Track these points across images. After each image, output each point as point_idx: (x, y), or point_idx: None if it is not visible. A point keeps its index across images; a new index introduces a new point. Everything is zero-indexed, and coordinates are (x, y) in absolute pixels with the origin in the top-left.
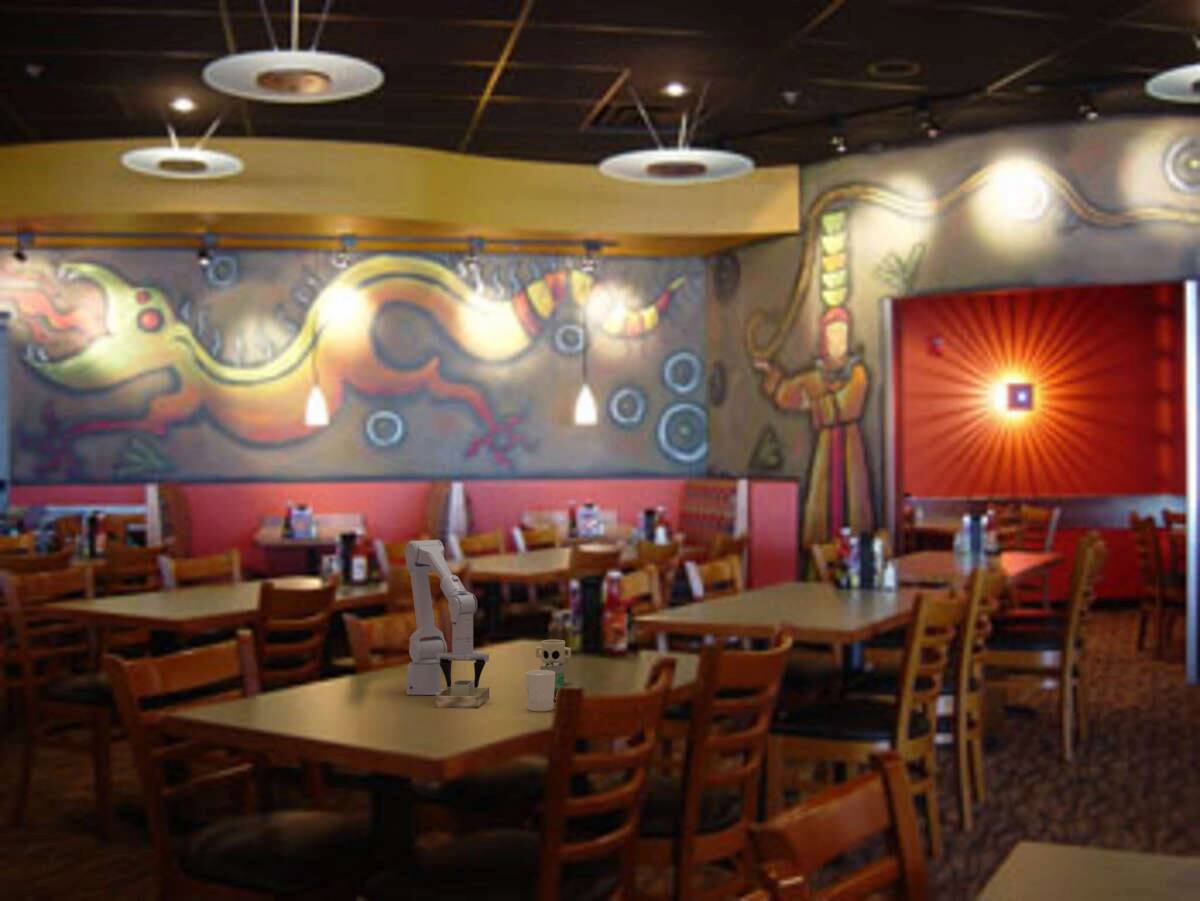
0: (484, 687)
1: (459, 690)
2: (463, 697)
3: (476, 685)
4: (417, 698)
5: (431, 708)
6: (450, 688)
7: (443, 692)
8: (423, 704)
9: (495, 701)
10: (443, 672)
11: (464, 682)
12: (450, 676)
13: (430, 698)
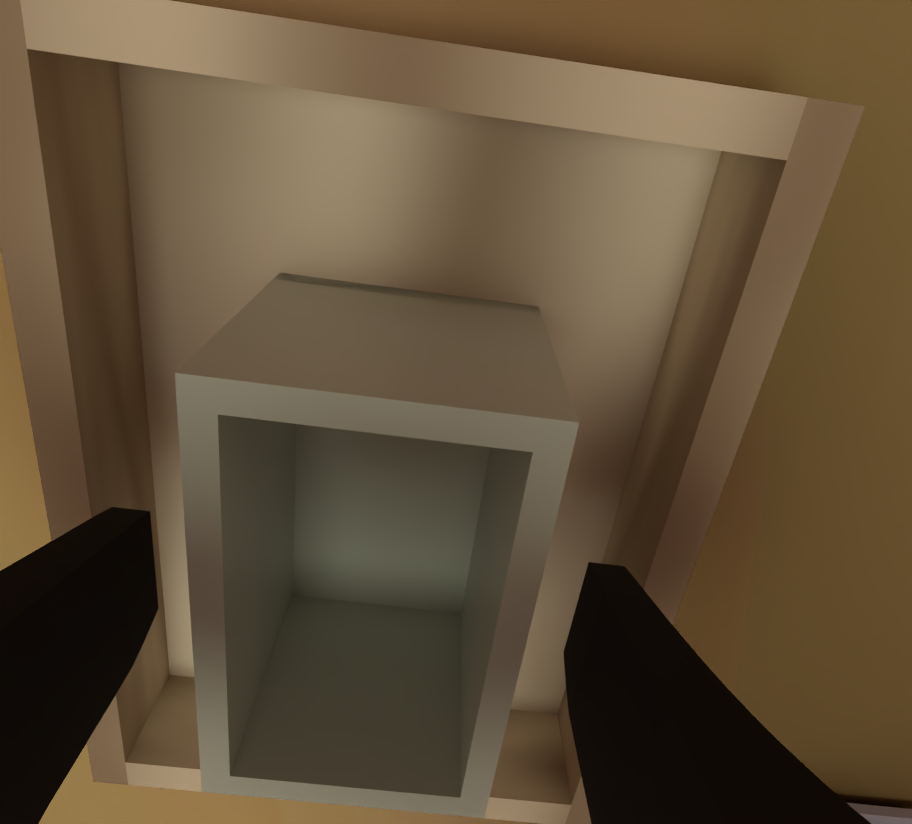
0: (148, 772)
1: (398, 354)
2: (289, 20)
3: (88, 522)
4: (889, 682)
5: (840, 17)
6: (561, 788)
7: (667, 511)
8: (896, 357)
9: (19, 507)
10: (829, 792)
11: (361, 760)
12: (602, 795)
13: (754, 677)
